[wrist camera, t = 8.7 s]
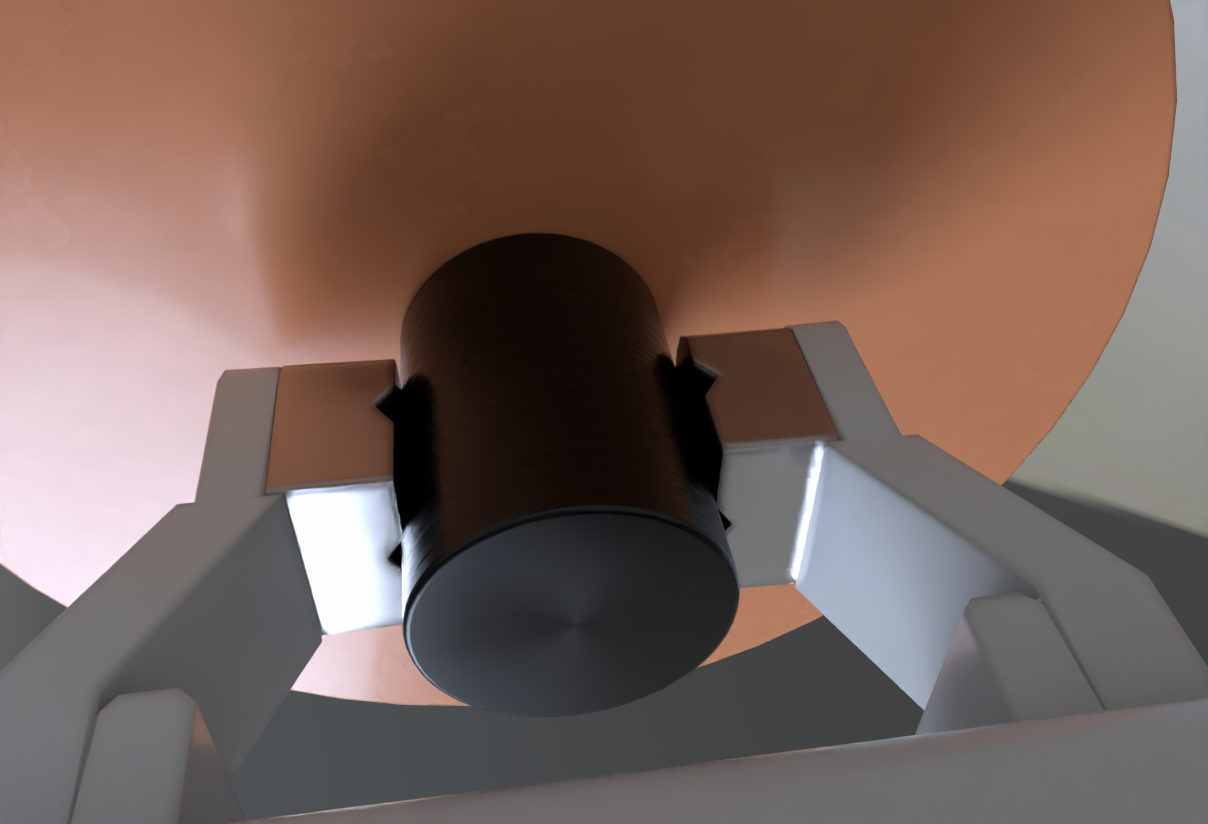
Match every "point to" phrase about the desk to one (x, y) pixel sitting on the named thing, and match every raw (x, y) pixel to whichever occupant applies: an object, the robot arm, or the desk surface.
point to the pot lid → (549, 277)
